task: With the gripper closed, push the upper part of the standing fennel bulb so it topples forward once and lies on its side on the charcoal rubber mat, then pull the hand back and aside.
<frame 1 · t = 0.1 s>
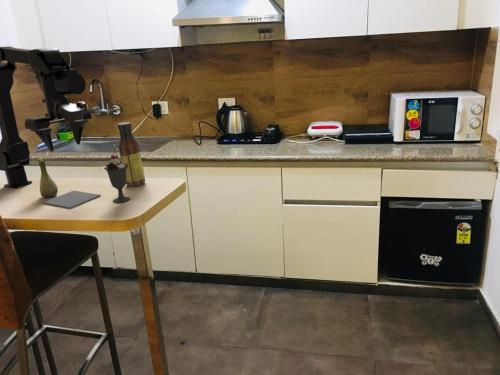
hand: (65, 147, 127), 15 cm above the table, tool pointing down, fingers open, 9 cm apart
sundae: (121, 200, 123), on the table
fennel bulb: (50, 196, 131), on the table
sauce bottle: (135, 184, 137), on the table
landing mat: (72, 199, 126), on the table
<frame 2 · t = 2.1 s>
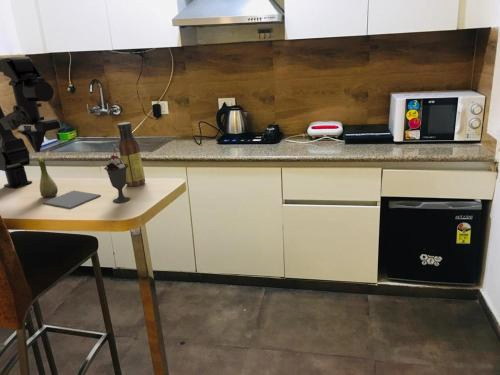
hand: (37, 151, 132), 13 cm above the table, tool pointing down, fingers closed
nothing on the table moved.
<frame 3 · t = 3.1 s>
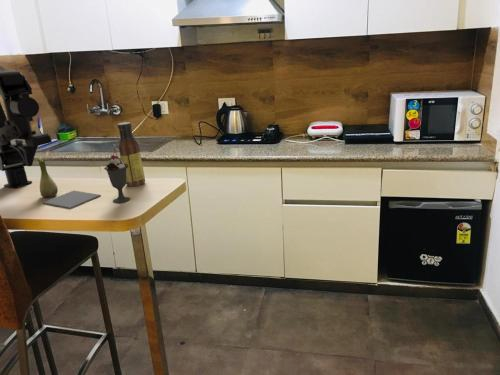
hand: (29, 165, 132), 9 cm above the table, tool pointing down, fingers closed
nothing on the table moved.
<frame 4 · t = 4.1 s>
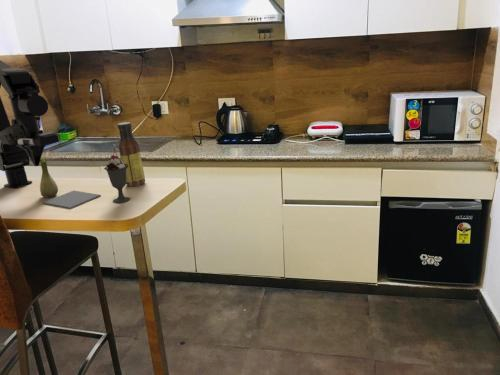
hand: (36, 165, 130), 9 cm above the table, tool pointing down, fingers closed
fennel bulb: (50, 196, 131), on the table, touching gripper
everything else where it was.
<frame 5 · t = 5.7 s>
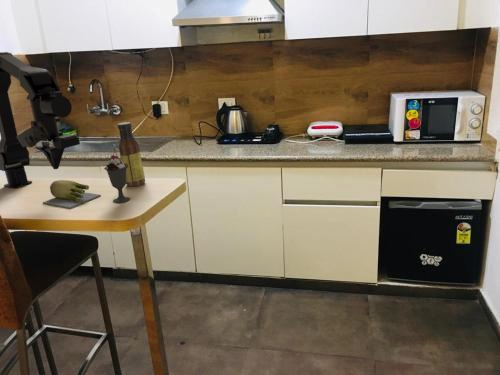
hand: (56, 168, 126), 9 cm above the table, tool pointing down, fingers closed
fennel bulb: (55, 187, 129), point 3 cm above the table, touching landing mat
everything else where it was.
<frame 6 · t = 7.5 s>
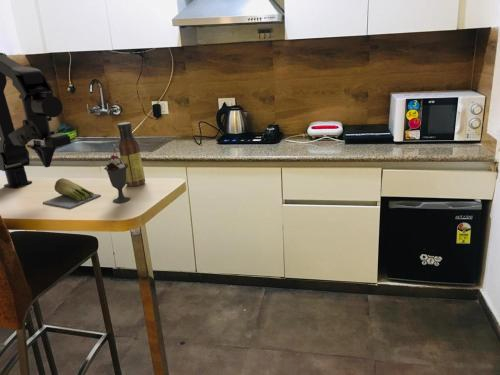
hand: (47, 167, 127), 9 cm above the table, tool pointing down, fingers closed
fennel bulb: (60, 184, 130), point 3 cm above the table, touching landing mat
everything else where it was.
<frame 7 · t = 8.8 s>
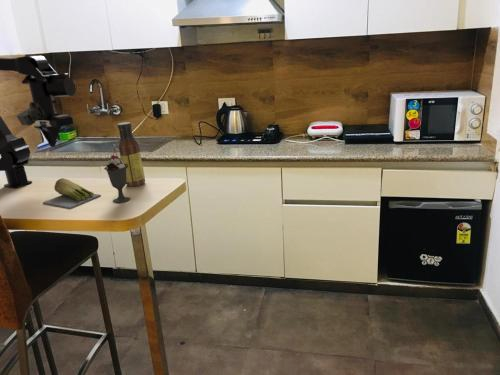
hand: (52, 146, 138), 13 cm above the table, tool pointing down, fingers closed
nothing on the table moved.
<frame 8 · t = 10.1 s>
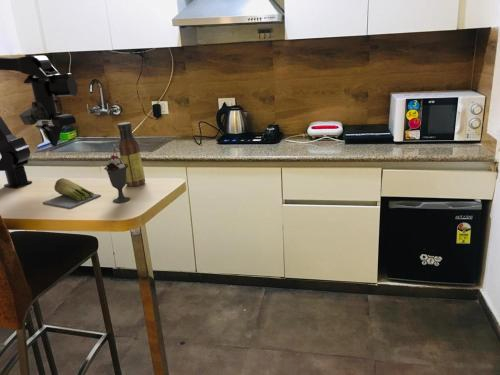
hand: (54, 146, 139), 13 cm above the table, tool pointing down, fingers closed
nothing on the table moved.
at the end: fennel bulb tilted 102°; fennel bulb touching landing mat; fennel bulb inside the target area (2.2 cm from its centre), point 3.3 cm above the table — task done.
